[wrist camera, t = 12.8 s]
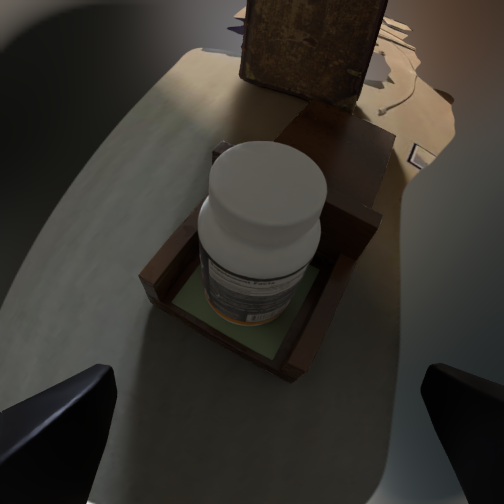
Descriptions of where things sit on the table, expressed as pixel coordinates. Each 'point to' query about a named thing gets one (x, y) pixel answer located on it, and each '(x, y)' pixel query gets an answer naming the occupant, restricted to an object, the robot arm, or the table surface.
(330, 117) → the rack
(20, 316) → the table surface
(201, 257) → the pill bottle
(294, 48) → the book
